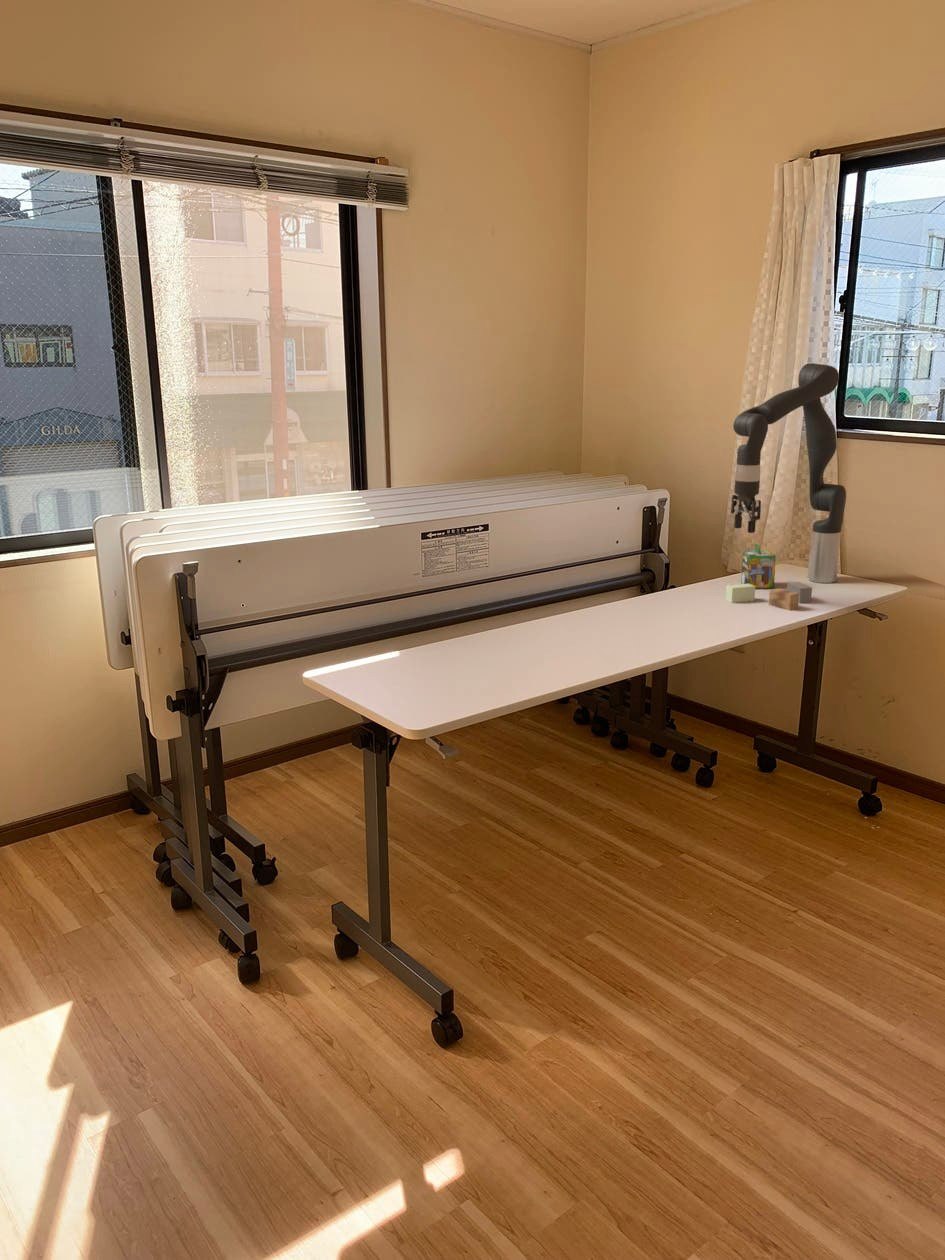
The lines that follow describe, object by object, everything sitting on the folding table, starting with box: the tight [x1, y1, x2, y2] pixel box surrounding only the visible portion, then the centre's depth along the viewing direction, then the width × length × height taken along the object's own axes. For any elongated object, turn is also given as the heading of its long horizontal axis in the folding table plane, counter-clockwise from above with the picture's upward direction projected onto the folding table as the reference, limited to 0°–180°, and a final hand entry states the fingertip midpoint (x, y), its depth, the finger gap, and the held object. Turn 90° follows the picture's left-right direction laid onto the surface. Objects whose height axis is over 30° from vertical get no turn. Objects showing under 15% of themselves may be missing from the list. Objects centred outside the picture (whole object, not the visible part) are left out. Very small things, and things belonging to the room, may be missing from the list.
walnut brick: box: [768, 588, 799, 611], centre depth 307 cm, size 8×4×5 cm, turn 34°
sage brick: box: [725, 583, 756, 604], centre depth 316 cm, size 8×4×5 cm, turn 103°
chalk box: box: [740, 541, 777, 590], centre depth 332 cm, size 9×9×15 cm
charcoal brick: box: [786, 581, 813, 604], centre depth 315 cm, size 8×4×5 cm, turn 13°
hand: (744, 530), depth 310 cm, fingers open, 8 cm apart
